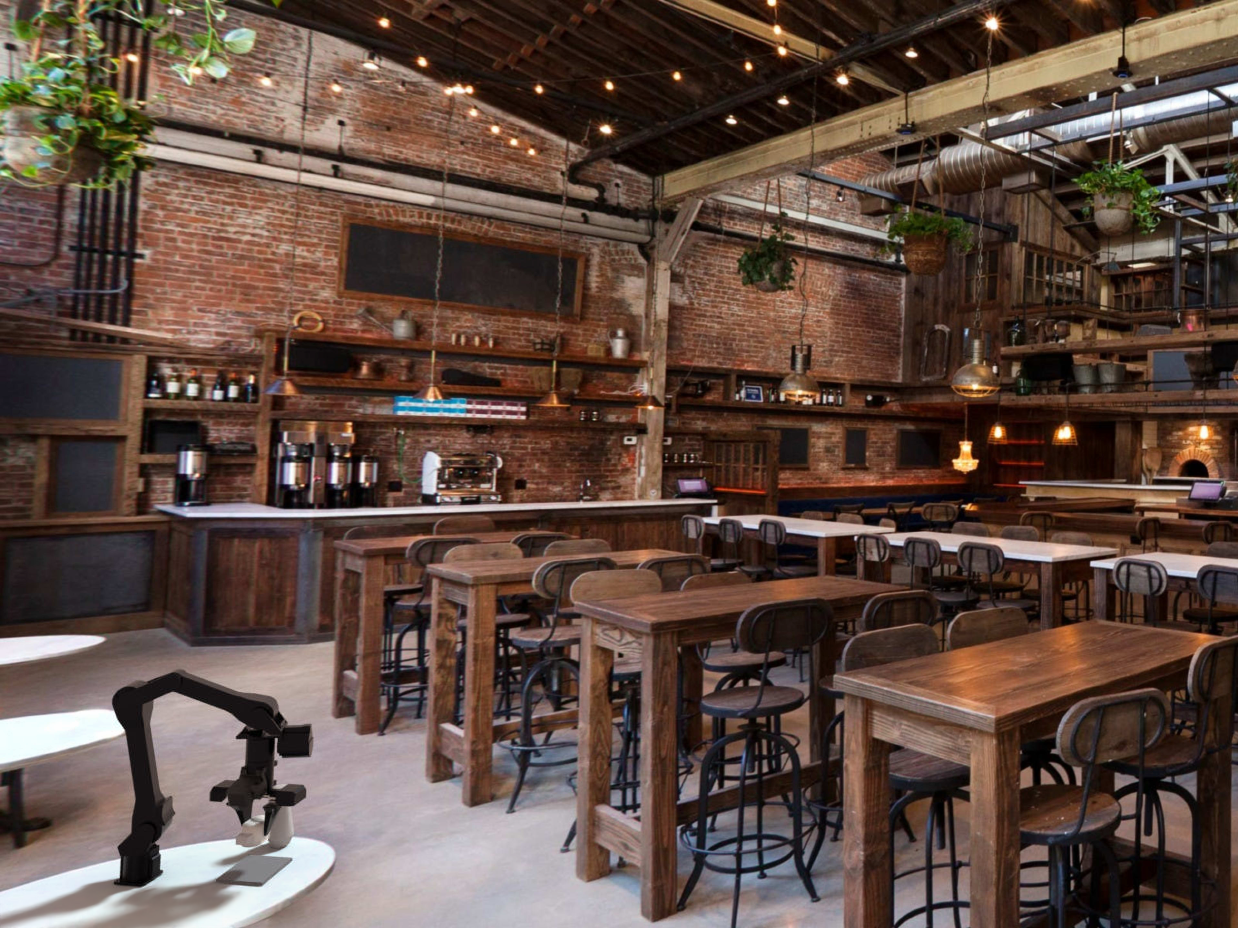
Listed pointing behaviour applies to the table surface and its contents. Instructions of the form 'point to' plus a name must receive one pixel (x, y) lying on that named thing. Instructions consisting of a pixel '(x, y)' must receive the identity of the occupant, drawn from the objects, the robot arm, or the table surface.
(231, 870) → the coaster
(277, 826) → the salt shaker
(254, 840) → the plug
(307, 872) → the table surface
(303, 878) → the table surface
